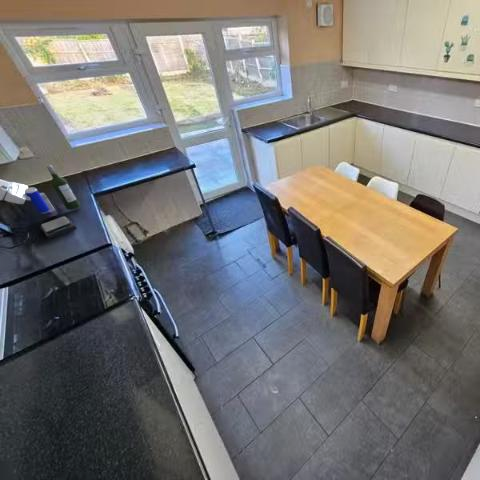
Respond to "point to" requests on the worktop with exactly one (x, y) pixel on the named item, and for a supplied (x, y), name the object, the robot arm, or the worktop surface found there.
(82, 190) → the worktop surface
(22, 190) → the robot arm
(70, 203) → the wine bottle
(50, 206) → the container
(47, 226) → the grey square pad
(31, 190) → the beverage can
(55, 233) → the scale
